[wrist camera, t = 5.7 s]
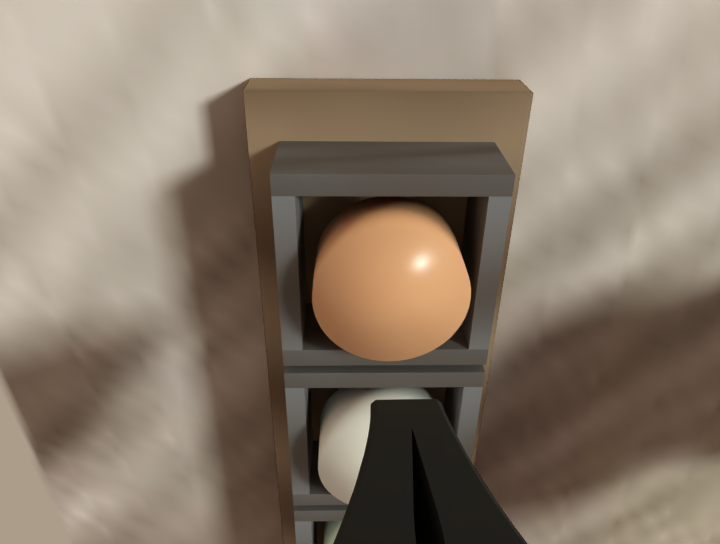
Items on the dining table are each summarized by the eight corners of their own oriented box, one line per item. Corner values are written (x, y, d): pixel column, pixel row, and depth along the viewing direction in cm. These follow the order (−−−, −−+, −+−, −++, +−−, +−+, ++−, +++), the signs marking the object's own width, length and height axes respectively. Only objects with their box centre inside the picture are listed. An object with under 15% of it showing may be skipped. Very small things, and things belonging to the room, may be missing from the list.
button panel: (250, 78, 18) (227, 118, 14) (519, 79, 18) (561, 120, 14) (288, 541, 29) (281, 626, 26) (452, 540, 29) (467, 623, 26)
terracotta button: (485, 272, 18) (500, 310, 16) (372, 341, 19) (375, 384, 17) (404, 166, 16) (411, 197, 14) (285, 250, 17) (279, 288, 16)
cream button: (463, 429, 21) (473, 474, 19) (368, 479, 22) (370, 526, 21) (394, 356, 19) (398, 399, 18) (295, 414, 21) (290, 460, 19)
